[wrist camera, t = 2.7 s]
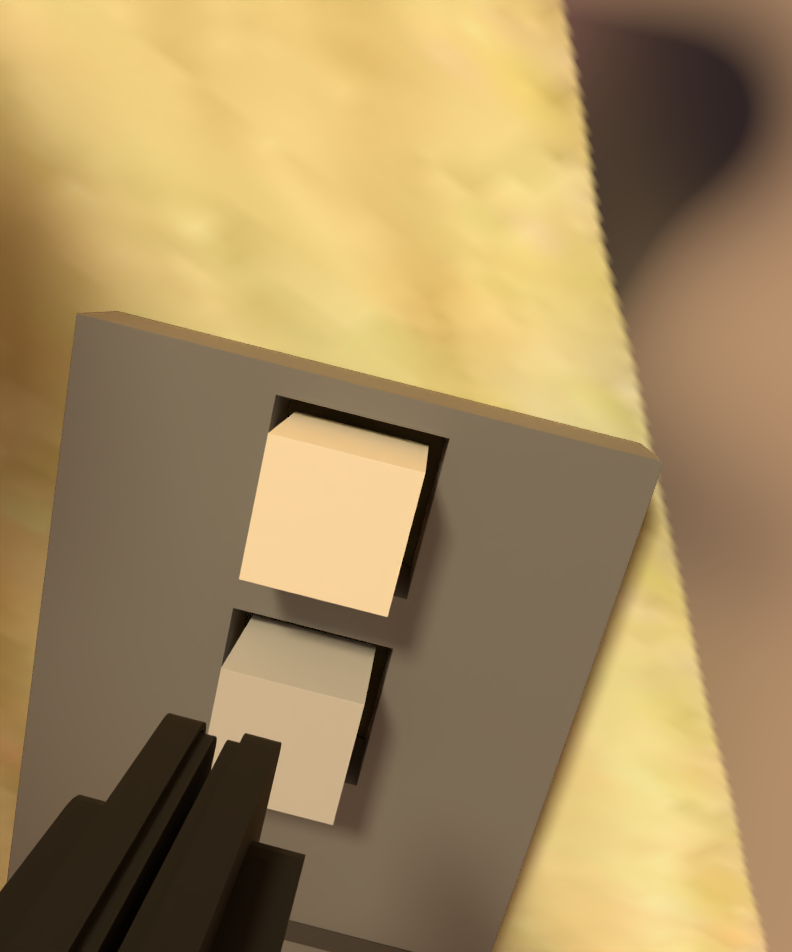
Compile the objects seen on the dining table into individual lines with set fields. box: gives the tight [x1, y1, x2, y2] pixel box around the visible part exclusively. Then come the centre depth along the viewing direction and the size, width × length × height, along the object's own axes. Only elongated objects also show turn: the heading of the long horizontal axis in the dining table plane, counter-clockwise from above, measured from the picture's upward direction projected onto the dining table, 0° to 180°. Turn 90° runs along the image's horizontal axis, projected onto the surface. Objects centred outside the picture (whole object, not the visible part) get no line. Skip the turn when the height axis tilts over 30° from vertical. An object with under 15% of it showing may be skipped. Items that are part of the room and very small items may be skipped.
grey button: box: [208, 615, 376, 825], centre depth 26 cm, size 5×5×4 cm
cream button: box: [239, 411, 429, 617], centre depth 24 cm, size 5×5×4 cm
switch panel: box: [7, 311, 664, 952], centre depth 29 cm, size 26×20×3 cm
